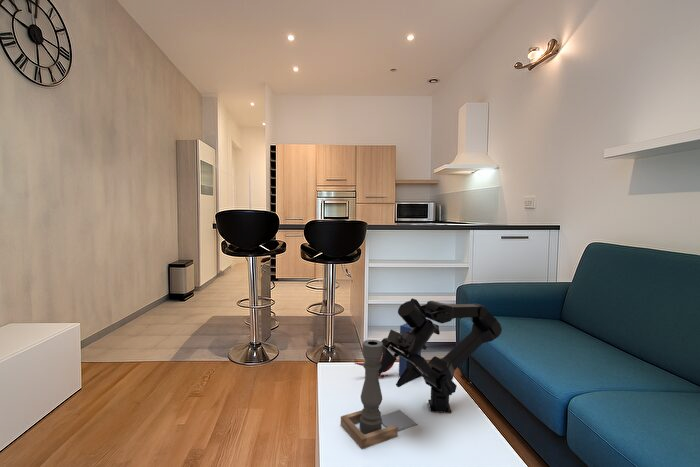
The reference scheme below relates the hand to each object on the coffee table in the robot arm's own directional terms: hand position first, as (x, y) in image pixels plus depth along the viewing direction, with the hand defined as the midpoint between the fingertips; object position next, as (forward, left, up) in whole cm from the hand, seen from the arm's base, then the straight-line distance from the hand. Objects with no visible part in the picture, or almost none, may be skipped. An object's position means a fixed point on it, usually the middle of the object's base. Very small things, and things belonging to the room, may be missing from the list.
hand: (387, 379), depth 103 cm
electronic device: (-34, +9, -14) cm, 37 cm away
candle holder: (+3, -4, -14) cm, 15 cm away
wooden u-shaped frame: (+3, -4, -13) cm, 15 cm away
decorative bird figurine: (-30, -4, -14) cm, 33 cm away
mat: (-2, +3, -13) cm, 14 cm away
